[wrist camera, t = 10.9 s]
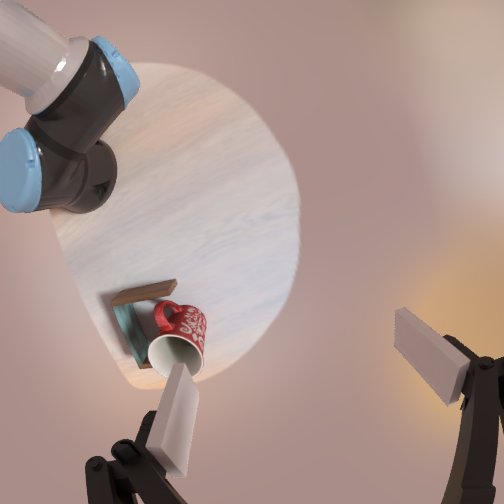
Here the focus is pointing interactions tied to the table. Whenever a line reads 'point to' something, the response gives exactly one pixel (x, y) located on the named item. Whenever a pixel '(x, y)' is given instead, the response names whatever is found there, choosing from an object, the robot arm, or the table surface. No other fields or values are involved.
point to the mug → (178, 339)
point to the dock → (129, 318)
